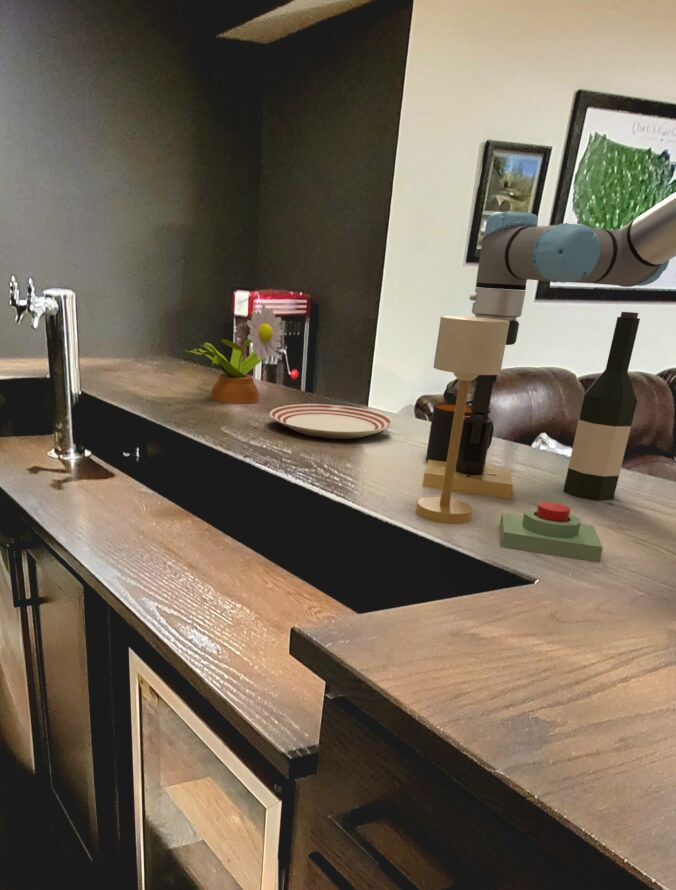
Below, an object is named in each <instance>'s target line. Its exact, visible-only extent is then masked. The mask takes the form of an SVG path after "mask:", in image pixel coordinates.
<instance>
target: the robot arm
mask: <svg viewBox="0 0 676 890" xmlns="http://www.w3.org/2000/svg"><path fill="white" fill-rule="evenodd" d="M538 224H539V217H538V216H537V215H536V214H535V213H530V212H521V211H507V212H506V211H505V212H504V211H500V212H499V211H497V212H494V213H492V214H490V215H489V216H488V217H487V219H486V223H485V227H484V232H483V237H482V238H481V246H480V252H479V253H480V254H479V259H478V267H477V275H476V281H475V289H474V292H475V293H471V294H469V300H470V301H473V302H472V307H471V313H472V315H474V317H480V318H492V319H501V320H507V321H510V322H509V328H508V334H507V339H506V345H505V346H512V345H514V344H516V343H517V340H518V339H517V338H518V333H519V328H520V323H519V320H517V318H519V317H521V316H522V315H523V314H522V313H523V308H524V302H525V297H526V289H527V281H528V280H529V281H530V280H531V281H541V282H550V283H555V284H556V283H562V284H563V283H574V284H575V283H576V284H595V285H609V286H618V287H622V288H631V287H637V286H638V287H639V286H647V285H651V284H652V283H654V282H655V281H657V280H659V278H660V277H661V275H662V274H663V273H664V272H665V271H666V270H667V268H668V266H669V263H670V260H671V259H673V258H675V257H676V191H675V192H673V193H672V194H670V195H669V196H667V197H666V198H665V199H663V200H662V201H660V202H659V203H657V204H655V205H653V207H652V208H649V209H648V210H646V211H645V212H644V213H642V214H641V215H639V216H638V217H636V218H635V219H633V220H632V221H630V222H628V223H627V224H625V225H624V226H622V227H620V228H617V229H606V228H595V227H594V228H592V227H589V226H588V225H585V224H577V223H567V222H566V223H559V224H553V225H552V224H551V225H538ZM497 377H498V375H478V377H476V378H475V379H473V381H474V382H475V383H474V389H473V395H472V400H470V401H471V402H470V404H471V406H470V407H471V408H470V409H471V411H472V412H470V414H469V416H470V418H469V417H466V419H465V422H469V424H468V430H467V436H466V442H465V448H464V454H463V460H462V461H466V462H474V463H480V458H481V452H482V447H483V441H484V435H485V430H486V422H487V420H488V418H489V414H491V409H492V408H491V407H490V404H491V400H492V399H491V398H492V392H493V387H494V384H495V383H496V382H497Z"/></svg>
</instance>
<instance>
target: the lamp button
mask: <svg viewBox="0 0 676 890" xmlns="http://www.w3.org/2000/svg"><path fill="white" fill-rule="evenodd" d="M536 508H537V513H536V516H537V517H539V518H541V519H545V520H548V521H554V522H568V519H569V514H571V508H570V507H569V506H567V505H565V504H562V503H557V502H550V501H547V502H546V501H544V502H543V501H542V502H539V503H538V504H537V507H536Z"/></svg>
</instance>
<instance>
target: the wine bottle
mask: <svg viewBox="0 0 676 890" xmlns="http://www.w3.org/2000/svg"><path fill="white" fill-rule="evenodd" d="M638 316H639V312H633V311H621V313H620V316H617V317H616V322H615V327H614V331H613V335H612V338H611V344H610V348H609V353H608V357H607V362H606V366H605V369H604V371H603V372H602V373H601V374H599V376H598V377H597V378H596V379H595V380H594V382H593V383H592V384H591V385H590V386H589V387H588V388H587V389H586V391H584V393H583V399H582V404H581V409H580V413H579V417H578V421H577V427H576V431H575V435H574V440H573V444H572V449H571V454H570V459H569V463H568V468H567V472H566V477H565V481H564V486H563V492H564V493H567V494H569V495H570V496H571V495H572V496H574V497H576V498H579V499H586V500H587V499H588V500H591V501H593V500H594V501H611V500H612V501H613V500H614V498H615V495H616V489H617V485H618V481H619V477H620V474H621V469H622V465H623V461H624V458H625V457H624V456H625V452H626V449H627V445H628V441H629V437H630V433H631V429H632V426H633V425H632V424H633V420H634V416H635V412H636V408H637V405H638V398H637V396H636V393H635V390H634V387H633V385H632V381H631V377H630V376H629V373H628V371H629V367H630V363H631V359H632V355H633V351H634V346H635V342H636V338H637V334H638V330H639V325H640V321H641V318H639V317H638Z"/></svg>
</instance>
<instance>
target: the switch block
mask: <svg viewBox="0 0 676 890" xmlns="http://www.w3.org/2000/svg"><path fill="white" fill-rule="evenodd" d="M537 508H538V507H532V508H531V507H530V508H528V509H525V510H524V512H523V515H522V514H515V513H509V512H501V516H500V521H499V527H498V528H499V538H500V540H499V541H500V548H502V549H503V548H505V549H509V550H517V551H524V552H528V553H529V552H530V553H535V554H542V555H549V556H553V557H561V558H568V559H574V560H578V561H579V560H580V561H587V562H591V563H600V561H601V556H602V553H603V548H604V547H603V544H602V542H601V540H600V538H599V536H598V534H597V531H596V529H595V527H594V525H591V524H584V523H582V522H581V520H580V518H579V517H577V516H576V515H574V514H572V513H570V514H569V519H568V522H554V521H548V520H545V519H541V518H539V517H537V516H536V513H537Z"/></svg>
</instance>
